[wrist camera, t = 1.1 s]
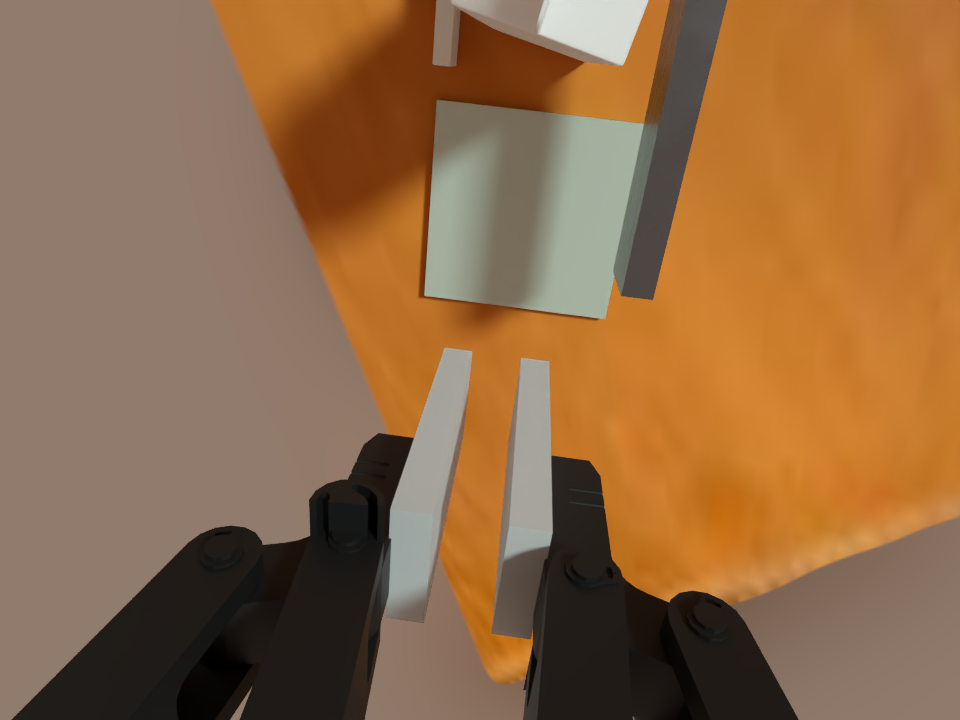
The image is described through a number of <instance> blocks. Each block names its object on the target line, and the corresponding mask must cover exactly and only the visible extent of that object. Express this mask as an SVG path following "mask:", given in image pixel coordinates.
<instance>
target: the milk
mask: <svg viewBox="0 0 960 720" xmlns="http://www.w3.org/2000/svg"><path fill="white" fill-rule="evenodd" d="M647 3H648V0H451V4H452V5H453V6H455V7H457V8H458V9H460V10H462V11H463V12H465V13H467V14H469V15H470V16H472V17H474V18H475V19H477V20H479V21H481V22H482V23H484V24H486V25H488V26H489V27H491V28H493V29H495V30H497V31H500V32H503V33H506V34H508V35H511V36H514V37H517V38H519V39H522V40H525V41H528V42H530V43H533V44H536V45H539V46H541V47H544V48H547V49H550V50H552V51H555V52H558V53H561V54H563V55H566V56H569V57H572V58H574V59H577V60H580V61H583V62H588V63H597V64H607V65H616V66H622V65H623V64H624V62H625V60H626V57H627V55H628V52H629V50H630V47H631V44H632V42H633V39H634V37H635V34H636V31H637V29H638V26H639V24H640V21H641V19H642V16H643V13H644V11H645V8H646V6H647Z"/></svg>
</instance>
